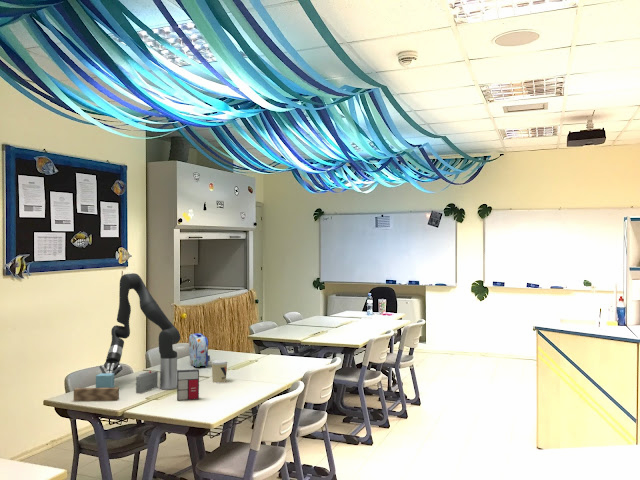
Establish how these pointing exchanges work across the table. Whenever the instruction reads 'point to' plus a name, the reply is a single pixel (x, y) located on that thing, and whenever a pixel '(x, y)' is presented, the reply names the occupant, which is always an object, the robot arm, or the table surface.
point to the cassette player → (146, 381)
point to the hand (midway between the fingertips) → (107, 381)
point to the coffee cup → (219, 370)
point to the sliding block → (105, 380)
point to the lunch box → (198, 350)
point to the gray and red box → (187, 384)
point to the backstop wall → (96, 394)
